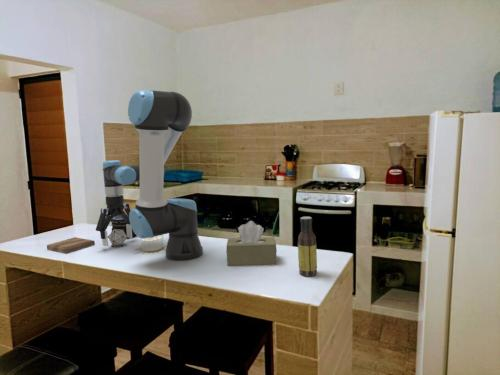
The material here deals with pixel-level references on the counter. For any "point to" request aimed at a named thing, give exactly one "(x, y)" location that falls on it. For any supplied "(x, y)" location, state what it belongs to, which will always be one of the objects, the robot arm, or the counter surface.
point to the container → (120, 224)
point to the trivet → (70, 245)
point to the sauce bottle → (307, 248)
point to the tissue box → (251, 247)
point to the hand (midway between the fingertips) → (118, 241)
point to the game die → (117, 237)
